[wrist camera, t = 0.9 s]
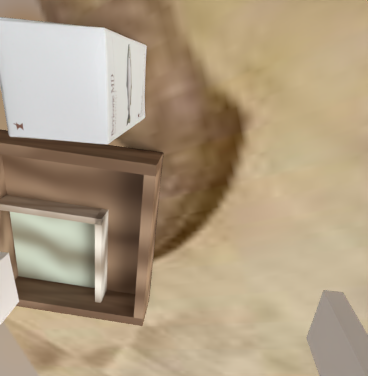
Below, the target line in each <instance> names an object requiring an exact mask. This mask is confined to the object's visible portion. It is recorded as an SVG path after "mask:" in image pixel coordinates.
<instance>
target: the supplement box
mask: <svg viewBox="0 0 368 376" xmlns="http://www.w3.org/2000/svg"><path fill="white" fill-rule="evenodd" d="M146 48H147V47H146V45H145V44H142V43H140V42H137V41H135V40H132V39H129V38H127V37H125V36H123V35H120V34H118V33H116V32H113V31H111V30H109V29H106V28H104V27H91V26H81V25H71V24H62V23H52V22H43V21H33V20H24V19H13V18H3V17H0V87H1V91H2V97H3V102H4V109H5V115H6V121H7V127H8V134H9V136H10V137H21V138H35V139H48V140H62V141H73V142H84V143H95V144H109V143H110V142H112V141H113V140H115V139H116V138H117V137H119V136H120V135H122V134H123V133H124V132H126V131H127V130H129V129H130V128H131V127H133V126H134V125H136V124H137V123H139V122H140V121H141V120H143V119H144V118H145V66H146Z"/></svg>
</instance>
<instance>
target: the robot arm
mask: <svg viewBox="0 0 368 376" xmlns="http://www.w3.org/2000/svg"><path fill="white" fill-rule="evenodd" d="M18 302H19V298H18V294H17V289H16V284H15V280H14V275H13V270H12V266H11V261H10V256H9V253H7V252H0V324H1V323H2V322H3V321H4V320H5V318H6V317H7V316H8V315H9V313H10V312H11V311H12V310H13V308H14V307H15V306H16V305H17V304H18ZM307 341H308V344H309V347H310V350H311V352H312V355H313V358H314V361H315V364H316V367H317V370H318V372H319V375H320V376H368V335H367V333H366V331H365V329H364V328H363V326H362V324H361V323H360V321H359V319H358V317H357V316H356V314H355V312H354V310H353V309H352V307H351V305H350V304H349V302H348V300H347V298H346V297H345V295H344V293H343V292H335V291H327V290H323V293H322V296H321V299H320V302H319V304H318V307H317V310H316V313H315V316H314V318H313V321H312V324H311V327H310V330H309V332H308V335H307Z"/></svg>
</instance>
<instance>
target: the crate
mask: <svg viewBox="0 0 368 376" xmlns="http://www.w3.org/2000/svg"><path fill="white" fill-rule="evenodd" d="M162 162H163V153H161V152H154V151H147V150H140V149H133V148H126V147H119V146H111V145H105V144H95V143H84V142H73V141H62V140H48V139H35V138H21V137H10V136H9V134H8V131H6V130H0V252H7V253H9V256H10V261H11V266H12V270H13V275H14V280H15V284H16V289H17V294H18V298H19V302H18V304H17V305H16V306H20V307H27V308H33V309H39V310H46V311H52V312H58V313H64V314H71V315H77V316H83V317H90V318H96V319H102V320H109V321H115V322H121V323H128V324H134V325H140V326H142V325H143V322H144V318H145V314H146V310H147V306H148V302H149V296H150V286H151V275H152V265H153V255H154V244H155V234H156V224H157V213H158V203H159V193H160V183H161V172H162Z"/></svg>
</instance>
